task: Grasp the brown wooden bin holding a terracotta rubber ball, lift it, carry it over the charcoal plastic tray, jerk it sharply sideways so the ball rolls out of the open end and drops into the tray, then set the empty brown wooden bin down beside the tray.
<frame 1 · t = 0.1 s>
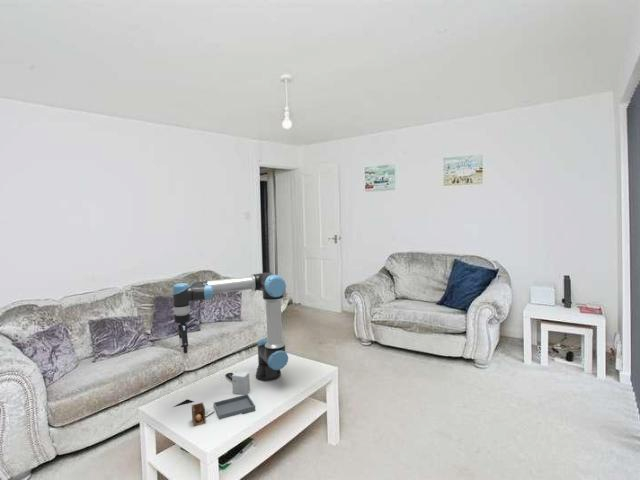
hand: (184, 354, 188), 28 cm above the table, fingers open, 13 cm apart
small box: (241, 392, 204), on the table
tray: (234, 408, 186), on the table
ball: (198, 420, 175), point 1 cm above the table, touching brown wooden bin
brown wooden bin: (199, 422, 175), on the table, touching ball
smartphone: (179, 409, 188), on the table
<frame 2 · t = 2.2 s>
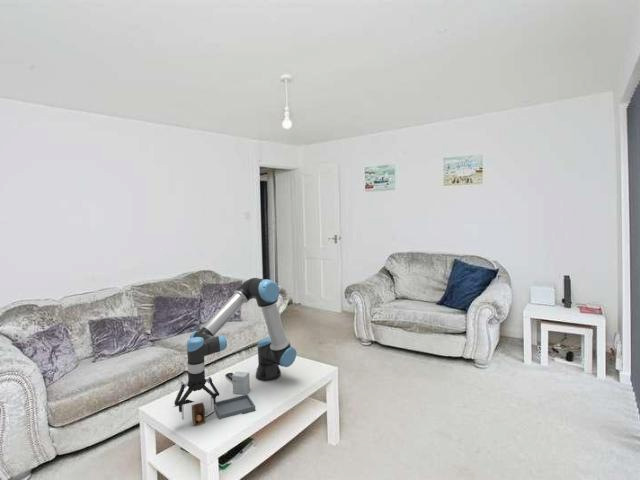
hand: (197, 414, 174), 4 cm above the table, fingers open, 13 cm apart
ball: (198, 420, 175), point 1 cm above the table, tilted 19°, touching brown wooden bin
everything else where it was.
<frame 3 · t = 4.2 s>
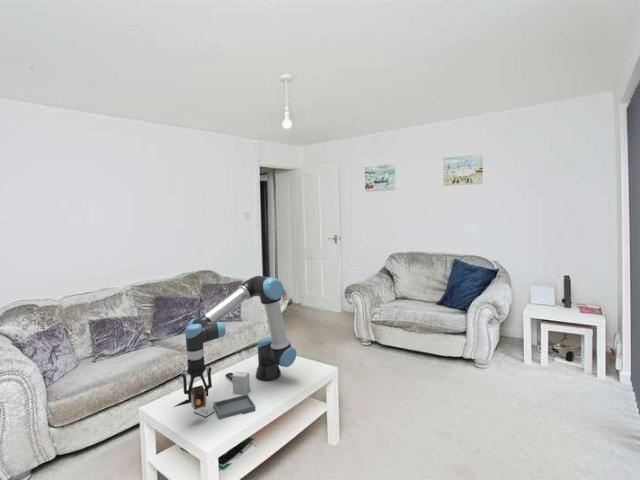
hand: (199, 404, 174), 9 cm above the table, fingers closed on brown wooden bin, 5 cm apart
ball: (198, 401, 174), point 10 cm above the table, tilted 70°, touching brown wooden bin
brown wooden bin: (199, 405, 174), point 8 cm above the table, touching ball, gripper
everything else where it was.
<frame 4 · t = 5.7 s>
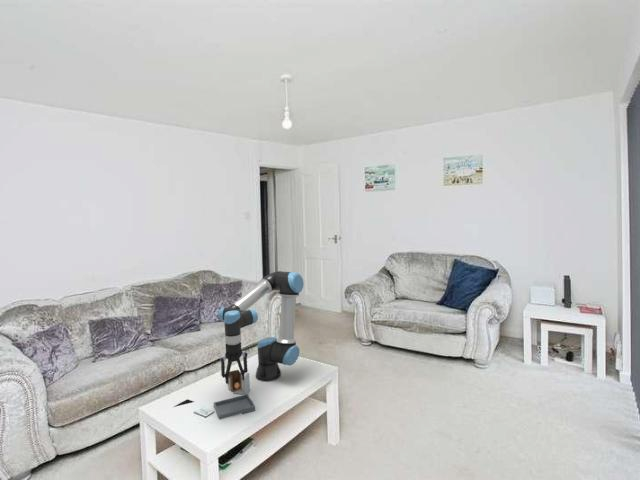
hand: (235, 388, 182), 13 cm above the table, fingers closed on brown wooden bin, 5 cm apart
ball: (236, 384, 182), point 14 cm above the table, tilted 79°, touching brown wooden bin
brown wooden bin: (235, 388, 182), point 12 cm above the table, touching ball, gripper
everything else where it was.
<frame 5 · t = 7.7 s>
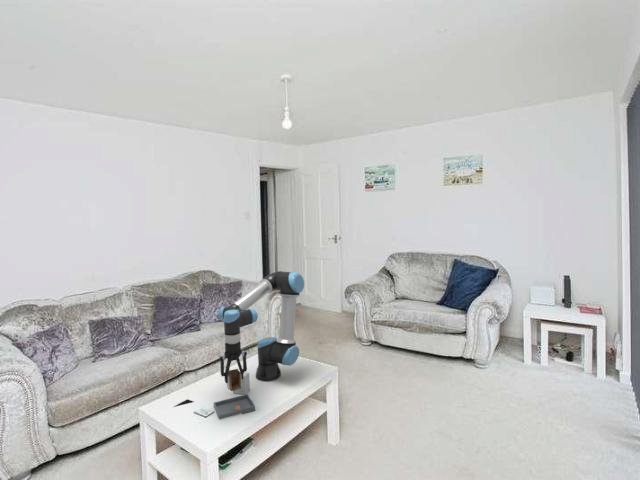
hand: (234, 387, 182), 13 cm above the table, fingers closed on brown wooden bin, 5 cm apart
ball: (236, 411, 183), point 1 cm above the table, tilted 16°, touching tray
brown wooden bin: (234, 387, 182), point 13 cm above the table, touching gripper
everything else where it was.
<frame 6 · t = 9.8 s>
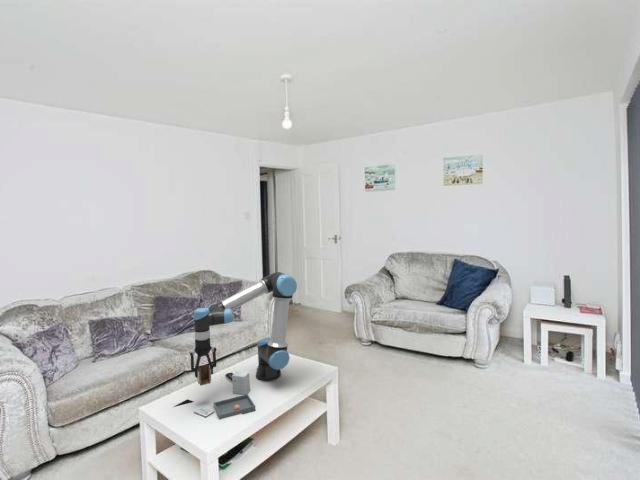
hand: (204, 381, 191), 12 cm above the table, fingers closed on brown wooden bin, 5 cm apart
ball: (236, 411, 183), point 1 cm above the table, tilted 25°, touching tray
brown wooden bin: (204, 382, 191), point 12 cm above the table, touching gripper
everything else where it was.
when the fingers open (0 cm above the table, at t = 11.3 s): brown wooden bin stays where it is, on the table.
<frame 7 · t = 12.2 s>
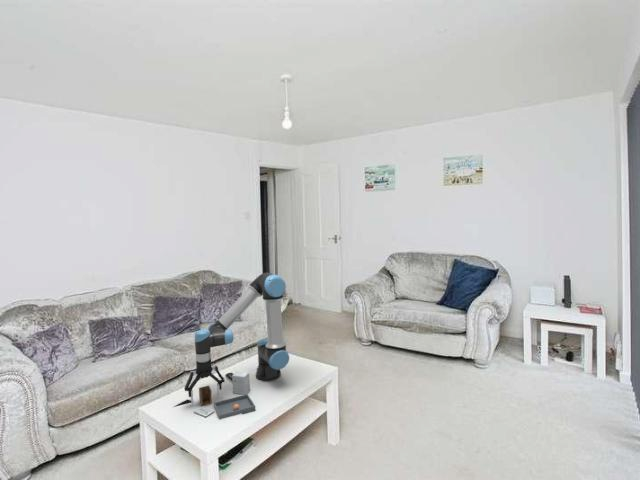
hand: (205, 399, 192), 2 cm above the table, fingers open, 13 cm apart
ball: (236, 410, 183), point 1 cm above the table, tilted 56°, touching tray
brown wooden bin: (205, 403, 192), on the table
everything else where it was.
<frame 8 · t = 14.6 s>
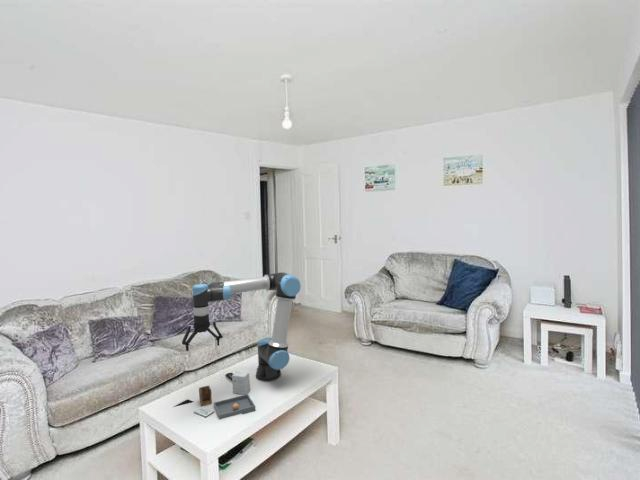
hand: (203, 354, 191), 27 cm above the table, fingers open, 13 cm apart
ball: (236, 408, 183), point 2 cm above the table, tilted 88°, touching tray
everything else where it was.
at the end: ball inside the target area on the tray (3.3 cm from its centre), point 2.1 cm above the tray's base; ball touching tray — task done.
